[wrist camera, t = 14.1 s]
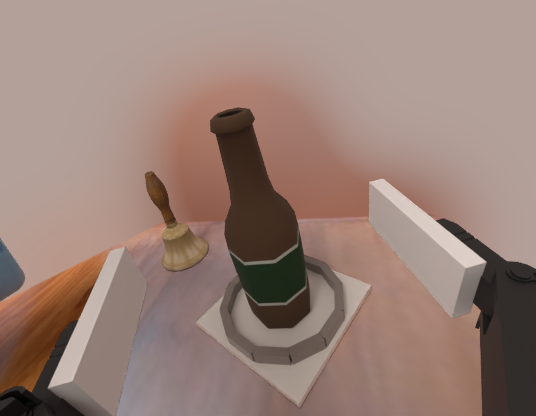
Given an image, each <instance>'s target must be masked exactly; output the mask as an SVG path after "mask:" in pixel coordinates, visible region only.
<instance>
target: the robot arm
mask: <svg viewBox="0 0 536 416" xmlns="http://www.w3.org/2000/svg"><path fill="white" fill-rule="evenodd" d="M369 224H370V225H371V226H372V227H373V228H374V229H375V231H376V232H377V233H378V234H379V235H380V236H381V238H382V239H383V240H384V241H385V242H386V243H387V244H388V246H389V247H390V248H391V249H392V250H393V251H394V252H395V254H396V255H397V256H398V257H399V258H400V259H401V260H402V262H403V263H404V264H405V265H406V266H407V267H408V269H409V270H410V271H411V272H412V273H413V274H414V275H415V277H416V278H417V279H418V280H419V281H420V282H421V283H422V285H423V286H424V287H425V288H426V289H427V290H428V292H429V293H430V294H431V295H432V296H433V297H434V298H435V300H436V301H437V302H438V303H439V304H440V305H441V306H442V308H443V309H444V310H445V311H446V312H447V313H448V315H449V316H450V317H451V318H454V317H458V316H461V315H465V314H468V313H470V312H471V309H472V305H473V303H474V304H475V305H476V306H477V307H478V308H479V309H480V310H481V312H480V315H479V318H478V321H477V324H476V327H475V328H477V329H479V327H480V349H481V383H482V416H536V269H535V268H533V267H531V266H529V265H526V264H523V263H519V262H509V261H508V262H507V261H506V260H504V259H503V258H501V257H500V256H499V255H498V254H496V253H495V252H494V251H492V250H491V249H490V248H488V247H487V246H486V245H484V244H483V243H482V242H480V241H479V240H478V239H475V238H474V236H472V235H471V234H469V233H467V232H466V230H464V229H463V228H462V227H460V226H459V225H458V224H456V223H454V222H451V221H448V220H446V219H444V218H443V219H440V220H436V221H435V220H434V219H432V218H431V217H430V216H429V215H427V214H426V213H425V212H424V211H422V210H421V209H420V208H419V207H418V206H416V205H415V204H414V203H413V202H411V201H410V200H409V199H407V198H406V197H405V196H404V195H403V194H401V193H400V192H399V191H398V190H396V189H395V188H394V187H393V186H391V185H390V184H389V183H388V182H386V181H385V180H384V179H380V180H376V181H372V182H370V183H369ZM24 281H25V275H24V272H23V271H22V269H21V268H20V267H19V265H18V263H17V262H16V261H15V259H14V258H13V256H12V255H11V253H10V252H9V250H8V249H7V247H6V246H5V245H4V243H3V242H2V240H1V239H0V301H2V300H3V299H5V298H6V297H8V296H10V295H11V294H13V293H14V292H16V291H17V290H19V289H20V288H21V286H22V285H23V283H24ZM147 285H148V283H147V281H146V279H145V278H144V276H143V275H142V273H141V271H140V270H139V268H138V266H137V265H136V263H135V262H134V260H133V258H132V257H131V255H130V254H129V252H128V250H127V249H126V247H122V248H119V249H115V250H111V251H110V253H109V255H108V257H107V259H106V261H105V263H104V266H103V268H102V270H101V272H100V274H99V277H98V279H97V281H96V283H95V285H94V288H93V290H92V292H91V294H90V296H89V299H88V301H87V303H86V305H85V307H84V310H83V312H82V314H81V316H80V318H79V320H76V321H73V322H70V324H69V325H68V326H67V327H66V328H65V330H64V331H63V332H62V333H61V334H60V336H59V338H58V340H57V342H56V344H55V346H54V347H55V349H53V350H52V352H51V355H50V357H49V360H48V361H47V363H46V365H45V367H44V369H43V371H42V373H41V375H40V377H39V379H38V381H37V383H36V385H35V387H34V389H33V391H32V393H31V392H30V391H28V390H27V389H25V388H24V387H23V386H15V387H13V388H10V389H7V390H6V391H4V392H3V393H1V394H0V416H116V413H117V409H118V405H119V401H120V397H121V393H122V388H123V384H124V380H125V376H126V372H127V368H128V364H129V360H130V355H131V351H132V347H133V343H134V339H135V335H136V331H137V327H138V322H139V318H140V314H141V310H142V306H143V302H144V298H145V294H146V289H147Z"/></svg>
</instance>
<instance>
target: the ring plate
mask: <svg viewBox="0 0 536 416" xmlns="http://www.w3.org/2000/svg"><path fill="white" fill-rule="evenodd" d="M304 259H305V264H306V269H307V275H308V280H309V288H310V313H309V314H308V315H306V316H305V317H304V318H303V319H302V320H301V321H300V322H299V323H298V324H296V325H295V326H294V327H293V328H281V329H268V328H267V327H266V326H265V325H264V324H263V323H262V322H261V321H260V320H259V319H258V318H257V317H256V316H255V315H254V314H253V312H252V310H251V308H250V306H249V303H248V301H247V298H246V295H245V292H244V290H243V287H242V284H241V282H240V279H239V276H238V275H237V276H236V277H235V278H234V279H233V280H232V281H231V282H230V283H229V285H228V286H227V289H226V292H225V294H224V295H223V296H222V297H221V298H220V299H219V300H218V301H217V302H216V303H215V304H214V305H213V306H212V307H211V308H210V309H209V310H208V311H207V312H206V313H205V314H204V315H203V316H202V317H201V318H200V319H199V320H198V321H197V322H196V324H197V326H198V327H199V328H201V329H202V330H203V331H204V332H206V333H207V334H208V335H209V336H211V337H212V338H213V339H214V340H216V341H217V342H218V343H219V344H221V345H222V346H223V347H224V348H226V349H227V350H228V351H229V352H231V353H232V354H233V355H234V356H236V357H237V358H238V359H239V360H241V361H242V362H243V363H244V364H246V365H247V366H248V367H249V368H251V369H252V370H253V371H254V372H256V373H257V374H258V375H259V376H261V377H262V378H263V379H264V380H266V381H267V382H268V383H269V384H271V385H272V386H273V387H274V388H276V389H277V390H278V391H279V392H281V393H282V394H283V395H284V396H286V397H287V398H288V399H289V400H291V401H292V402H293V403H294V404H296V405H297V406H298V407H299V408H300V407H301V405H302V403H303V402H304V400H305V399H306V397H307V395H308V394H309V392H310V390H311V389H312V387H313V385H314V384H315V382H316V380H317V379H318V377H319V375H320V374H321V372H322V370H323V369H324V367H325V365H326V364H327V362H328V360H329V359H330V357H331V355H332V354H333V352H334V350H335V349H336V347H337V345H338V344H339V342H340V340H341V339H342V337H343V335H344V334H345V332H346V331H347V329H348V327H349V326H350V324H351V322H352V321H353V319H354V317H355V316H356V314H357V312H358V311H359V309H360V307H361V306H362V304H363V302H364V301H365V299H366V297H367V296H368V294H369V292H370V291H371V285H370V284H367V283H365V282H362V281H359V280H357V279H354V278H352V277H349V276H347V275H344V274H342V273H339V272H336V271H334V270H331V269H330V267H329V266H328V265H327V264H325V262H322V261H319V260H317V259H314V258H312V257H309V256H306V255H304Z"/></svg>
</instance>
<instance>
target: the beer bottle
mask: <svg viewBox="0 0 536 416" xmlns="http://www.w3.org/2000/svg"><path fill="white" fill-rule="evenodd" d="M254 120H255V118H254V116H253V114H252V113H251V111H250V109H246V108H234V109H229V110H225V111H223V112H220V113H218V114H216V115H215V116H214V117H213V118H212V119H211V120H210V126H211V132H212V133H214V134H216V137H217V141H218V145H219V149H220V153H221V157H222V161H223V165H224V169H225V173H226V177H227V182H228V185H229V189H230V199H231V206H230V209H229V212H228V215H227V218H226V221H225V238H226V242H227V246H228V250H229V252H230V255H231V258H232V260H233V263H234V266H235V268H236V271H237V274H238V276H239V279H240V282H241V284H242V287H243V290H244V292H245V295H246V298H247V301H248V303H249V306H250V308H251V310H252V312H253V314H254V315H255V316H256V317H257V318H258V319H259V320H260V321H261V322H262V323H263V324H264V325H265V326H266V327H267V328H268V329H281V328H293V327H294V326H295V325H296V324H298V323H299V322H300V321H301V320H302V319H303V318H304V317H305V316H306V315H308V314H309V313H310V288H309V280H308V275H307V269H306V264H305V259H304V253H303V248H302V243H301V237H300V232H299V227H298V223H297V219H296V216H295V212H294V210H293V209H292V207H291V206H290V204H289V203H288V202H287V200H286V199H284V198H283V197H282V196H281V195H279V194H278V193H277V192H276V191H274V189H273V187H272V185H271V182H270V180H269V178H268V175H267V172H266V168H265V165H264V161H263V158H262V155H261V152H260V148H259V145H258V142H257V138H256V135H255V132H254V129H253V125H252V123H253V122H254Z"/></svg>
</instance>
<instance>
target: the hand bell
mask: <svg viewBox="0 0 536 416" xmlns="http://www.w3.org/2000/svg"><path fill="white" fill-rule="evenodd" d="M145 178H146V187H147V191H148V194H149V196H150V198H151V200H152V201H153V203H154V204H155V205H156V206H157V207H158V208H159V209H160V211H161V213H162V215H163V218H164V220H165V223H166V226H167V228H166V229H165V230H164V231H163V233H162V238H163V241H164V244H165V253H164V255H163V258H162V264H163V266H164V268H166V269H167V270H171V271H179V270H184V269H187V268H189V267H192V266H194V265H195V264H197V263H198V262H200V261H201V260H202V259H203V258H204V257H205V255H206V254H207V252H208V243H207V242H206V241H205V240H203V239H201V238H198V237H196V236H195V235H194V234H193V233H192V232H191V230H190V229H189V227H188V226H187V225H186V224H185V223H177V222H176V219H175V217H174V215H173V213H172V211H171V209H170V206H169V199H168V194H167V191H166V189H165V186H164V185H163V183H162V182H161V181H160V180H159V178H158V177H157V176H156V175H155V174H154V172H152V171H151V172H147V173H146V174H145Z"/></svg>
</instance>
